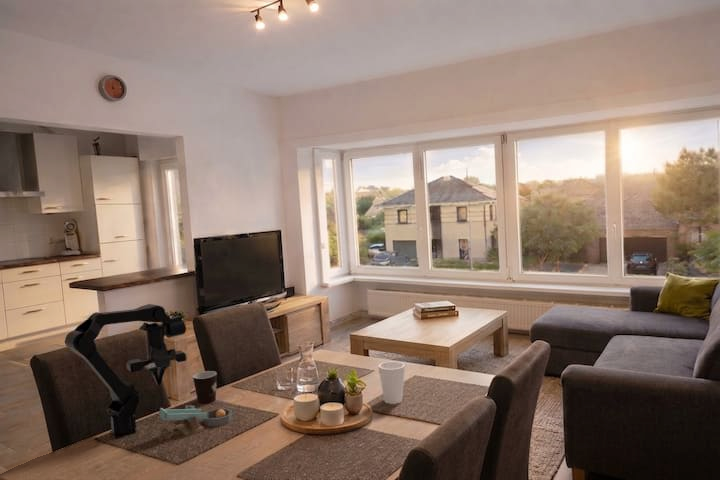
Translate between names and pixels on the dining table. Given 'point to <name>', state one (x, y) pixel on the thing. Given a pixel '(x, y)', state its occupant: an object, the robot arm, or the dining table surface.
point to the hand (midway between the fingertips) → (158, 385)
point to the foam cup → (392, 381)
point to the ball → (220, 413)
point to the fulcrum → (183, 429)
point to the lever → (182, 413)
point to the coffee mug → (205, 386)
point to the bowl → (214, 421)
